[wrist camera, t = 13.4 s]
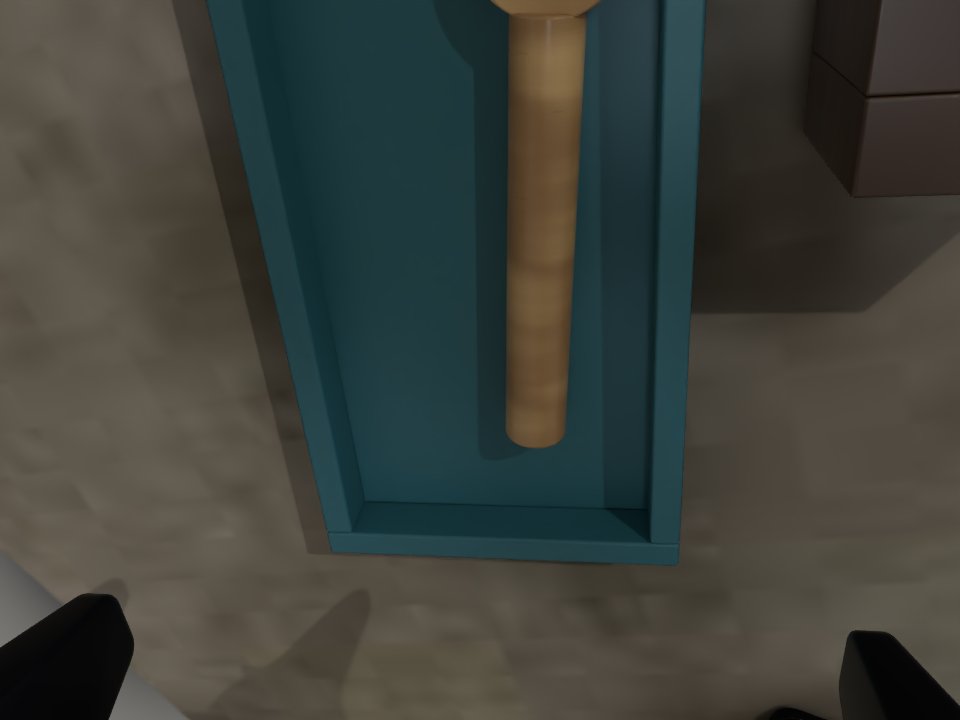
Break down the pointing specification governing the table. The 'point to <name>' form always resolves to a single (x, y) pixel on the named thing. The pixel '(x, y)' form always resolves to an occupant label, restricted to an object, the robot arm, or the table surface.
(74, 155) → the table surface
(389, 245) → the tray
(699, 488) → the table surface
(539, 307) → the tan round-headed peg
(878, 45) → the slotted brown holder
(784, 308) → the table surface
